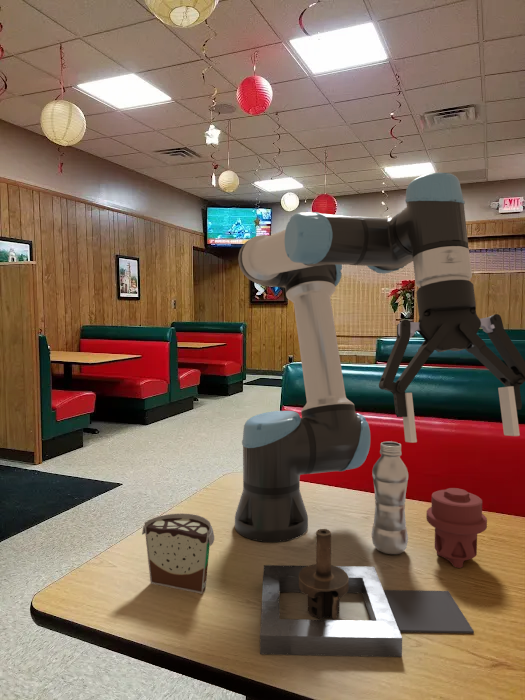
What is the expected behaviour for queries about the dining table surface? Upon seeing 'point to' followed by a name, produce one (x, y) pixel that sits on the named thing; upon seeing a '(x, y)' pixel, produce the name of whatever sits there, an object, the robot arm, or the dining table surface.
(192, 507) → the dining table surface
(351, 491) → the dining table surface
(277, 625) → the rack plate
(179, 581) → the food container
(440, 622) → the rubber mat
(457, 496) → the mechanical component
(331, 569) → the industrial component
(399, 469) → the plastic bottle
